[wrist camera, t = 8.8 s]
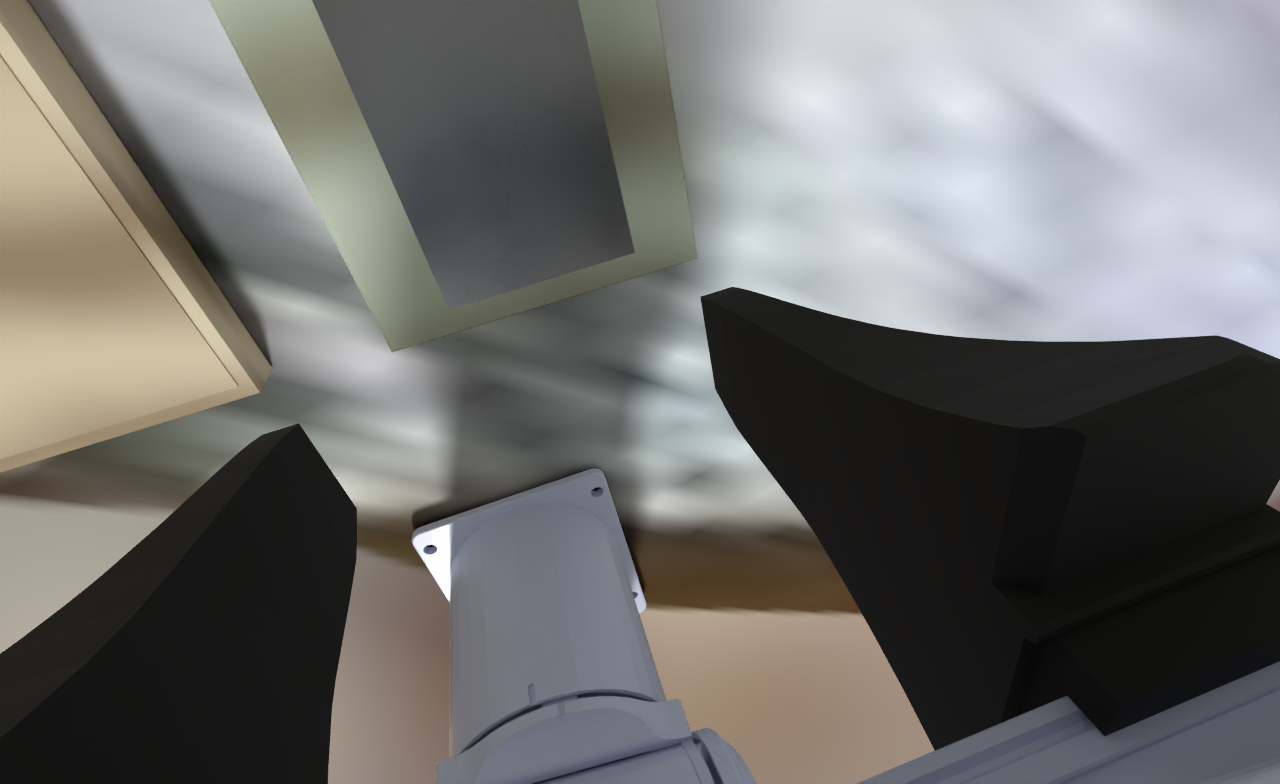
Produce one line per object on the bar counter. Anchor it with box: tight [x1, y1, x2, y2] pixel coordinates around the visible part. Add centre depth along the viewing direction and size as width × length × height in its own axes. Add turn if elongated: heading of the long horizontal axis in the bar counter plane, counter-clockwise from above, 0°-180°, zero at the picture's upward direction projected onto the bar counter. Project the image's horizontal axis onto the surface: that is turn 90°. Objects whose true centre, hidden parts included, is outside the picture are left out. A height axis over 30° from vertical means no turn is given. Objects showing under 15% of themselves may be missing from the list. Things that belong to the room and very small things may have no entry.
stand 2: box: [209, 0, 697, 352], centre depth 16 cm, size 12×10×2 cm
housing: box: [312, 0, 635, 310], centre depth 13 cm, size 7×4×5 cm, turn 11°
